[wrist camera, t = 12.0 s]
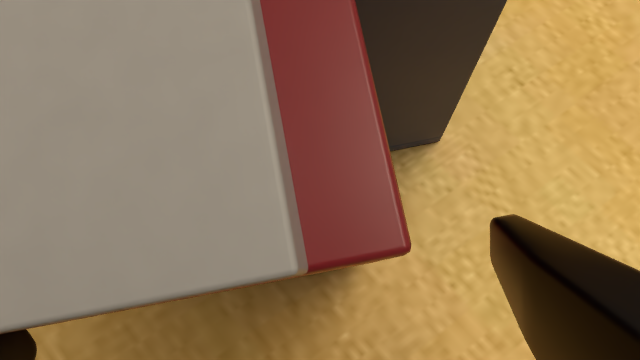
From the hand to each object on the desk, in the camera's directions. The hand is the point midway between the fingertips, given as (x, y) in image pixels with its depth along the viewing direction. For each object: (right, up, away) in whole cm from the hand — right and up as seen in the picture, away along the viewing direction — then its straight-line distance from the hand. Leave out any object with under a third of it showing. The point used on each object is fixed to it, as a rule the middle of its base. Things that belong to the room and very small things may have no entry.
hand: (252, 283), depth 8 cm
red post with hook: (0, +2, +9) cm, 9 cm away
